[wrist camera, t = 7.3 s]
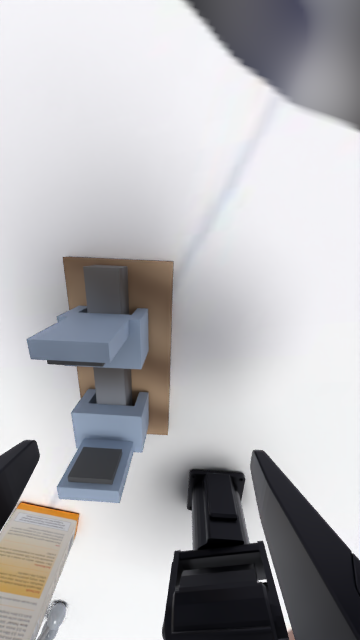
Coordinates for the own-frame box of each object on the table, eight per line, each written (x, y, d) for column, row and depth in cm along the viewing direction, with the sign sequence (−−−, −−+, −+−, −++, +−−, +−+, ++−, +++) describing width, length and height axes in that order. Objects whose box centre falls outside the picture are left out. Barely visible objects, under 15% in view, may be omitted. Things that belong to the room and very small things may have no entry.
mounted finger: (148, 424, 22) (130, 503, 15) (92, 420, 22) (48, 497, 15) (148, 392, 20) (128, 462, 14) (88, 388, 21) (38, 457, 14)
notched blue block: (148, 350, 19) (126, 405, 12) (84, 347, 19) (26, 400, 12) (148, 308, 18) (123, 343, 11) (79, 305, 18) (11, 338, 11)
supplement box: (20, 522, 29) (-105, 722, 17) (20, 500, 28) (-115, 701, 15) (77, 534, 30) (-2, 738, 17) (81, 513, 28) (-3, 719, 16)
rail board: (168, 429, 23) (165, 453, 20) (88, 424, 23) (74, 448, 20) (173, 261, 17) (170, 263, 15) (68, 256, 18) (44, 257, 15)
